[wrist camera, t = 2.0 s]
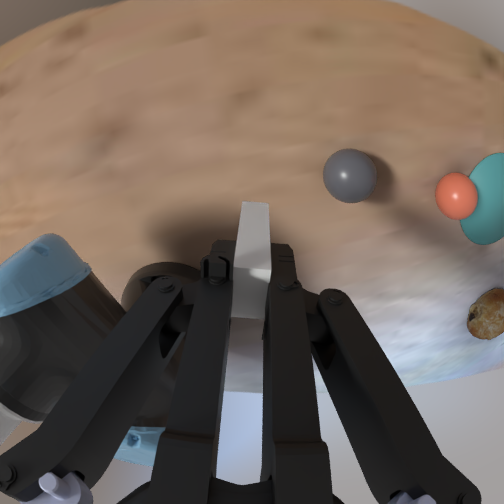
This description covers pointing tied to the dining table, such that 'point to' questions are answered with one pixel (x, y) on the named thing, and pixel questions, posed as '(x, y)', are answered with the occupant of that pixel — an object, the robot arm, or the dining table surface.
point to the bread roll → (487, 315)
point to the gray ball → (350, 175)
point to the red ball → (456, 196)
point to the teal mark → (487, 202)
